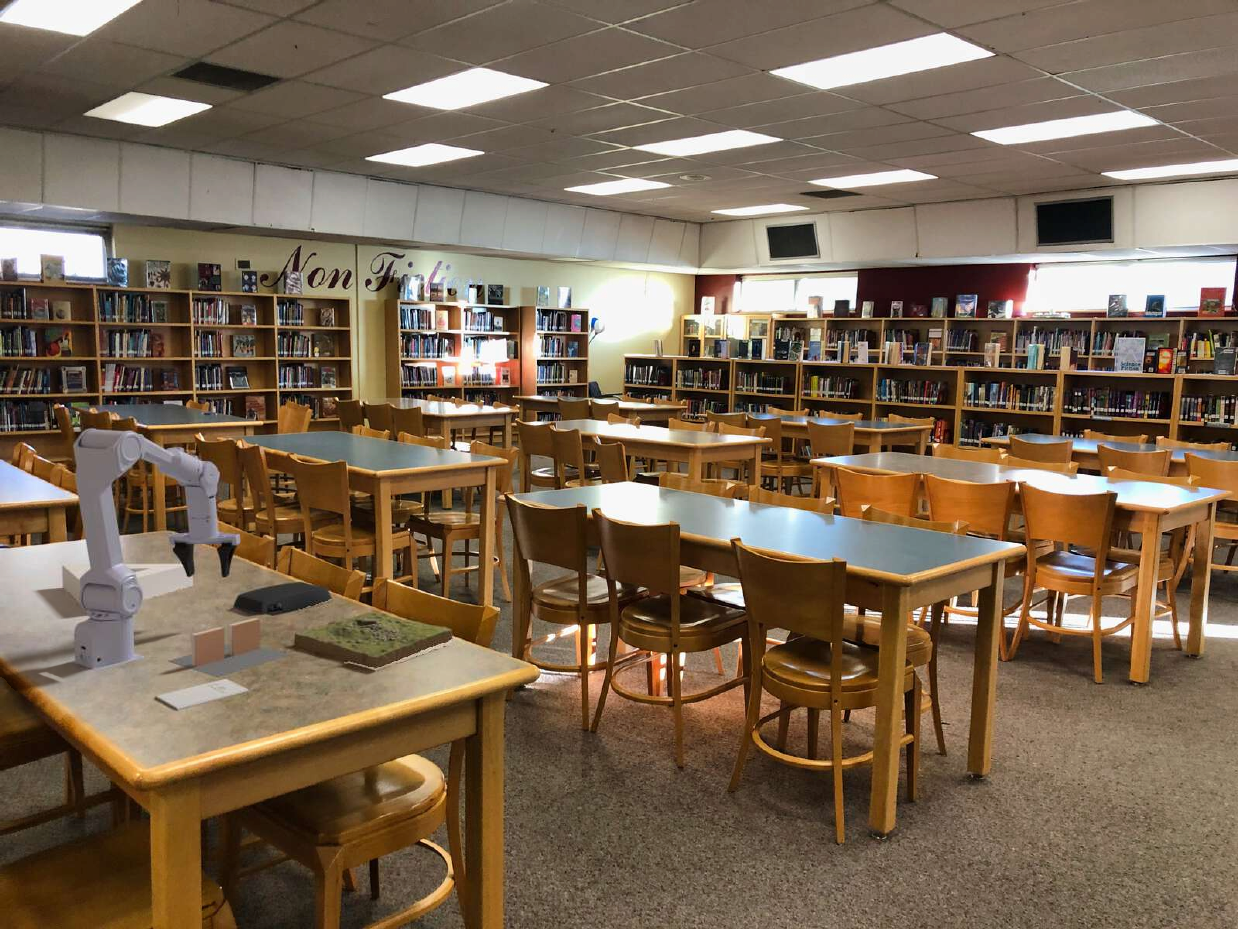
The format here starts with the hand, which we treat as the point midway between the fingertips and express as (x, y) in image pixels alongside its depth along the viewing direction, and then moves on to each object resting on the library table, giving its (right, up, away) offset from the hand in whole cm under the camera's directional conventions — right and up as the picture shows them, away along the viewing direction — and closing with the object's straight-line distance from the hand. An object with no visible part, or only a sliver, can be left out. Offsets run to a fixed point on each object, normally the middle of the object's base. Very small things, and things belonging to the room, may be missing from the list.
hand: (208, 575), depth 200 cm
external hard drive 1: (+18, -17, -42) cm, 48 cm away
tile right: (+16, -13, -19) cm, 27 cm away
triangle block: (-28, -8, +25) cm, 38 cm away
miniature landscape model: (+39, -14, -10) cm, 43 cm away
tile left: (+11, -13, -26) cm, 31 cm away
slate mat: (+14, -14, -23) cm, 30 cm away
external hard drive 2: (+10, -10, +19) cm, 23 cm away
